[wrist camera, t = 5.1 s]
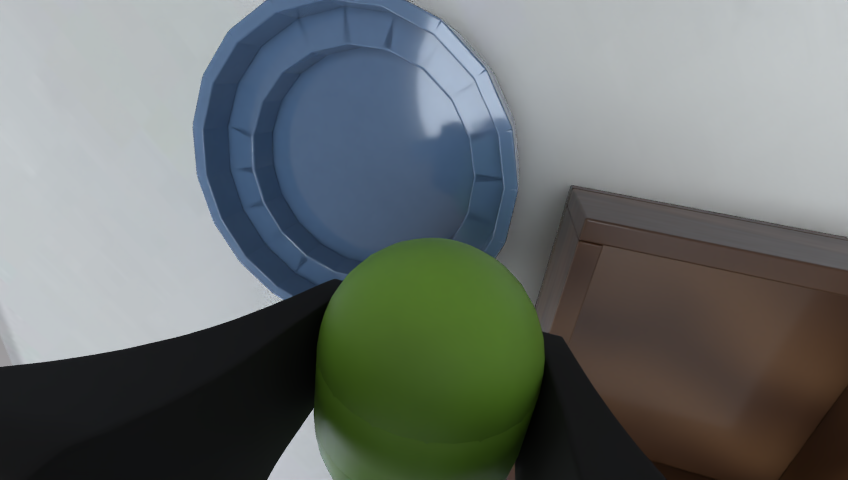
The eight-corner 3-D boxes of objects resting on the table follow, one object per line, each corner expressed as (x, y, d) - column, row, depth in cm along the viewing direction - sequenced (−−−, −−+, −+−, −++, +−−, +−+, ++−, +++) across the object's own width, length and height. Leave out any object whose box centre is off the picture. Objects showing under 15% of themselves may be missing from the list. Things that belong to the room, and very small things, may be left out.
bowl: (484, 316, 20) (477, 361, 17) (252, 258, 22) (206, 288, 19) (553, 25, 15) (562, 9, 12) (242, -15, 17) (177, -37, 14)
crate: (772, 500, 20) (835, 607, 16) (501, 421, 22) (495, 498, 18) (952, 257, 15) (1118, 325, 10) (571, 184, 17) (585, 217, 13)
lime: (503, 426, 12) (491, 619, 8) (355, 382, 13) (268, 535, 8) (564, 233, 10) (594, 360, 5) (374, 192, 10) (264, 273, 6)
